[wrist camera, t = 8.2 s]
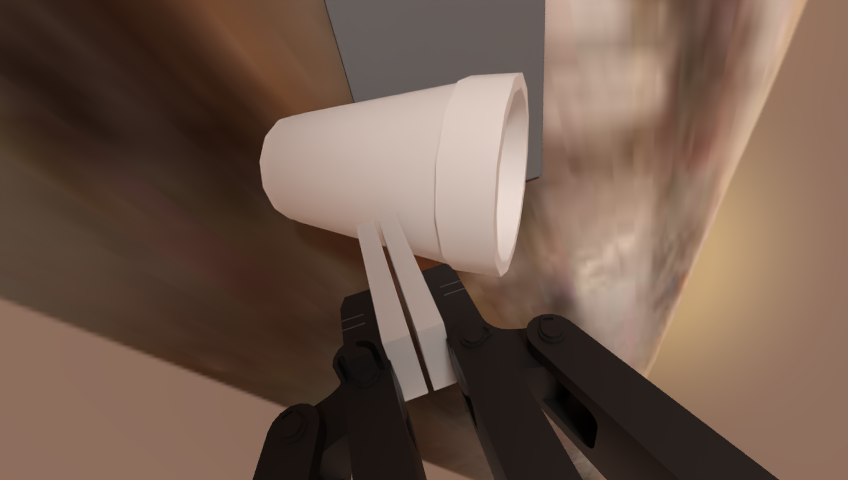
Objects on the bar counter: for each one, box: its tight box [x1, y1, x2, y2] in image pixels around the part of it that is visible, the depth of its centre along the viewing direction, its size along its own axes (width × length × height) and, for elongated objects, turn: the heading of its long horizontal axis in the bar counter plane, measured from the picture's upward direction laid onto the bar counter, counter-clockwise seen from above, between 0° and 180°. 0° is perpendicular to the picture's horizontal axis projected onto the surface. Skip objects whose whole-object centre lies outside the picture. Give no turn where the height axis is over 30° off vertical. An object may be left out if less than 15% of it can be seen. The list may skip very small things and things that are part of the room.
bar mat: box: [324, 0, 545, 181], centre depth 26 cm, size 16×14×1 cm
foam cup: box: [259, 72, 529, 277], centre depth 19 cm, size 10×9×13 cm
